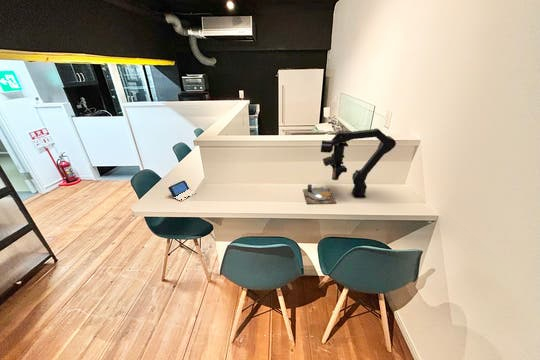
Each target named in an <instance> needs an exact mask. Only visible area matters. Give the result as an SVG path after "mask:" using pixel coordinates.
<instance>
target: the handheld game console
mask: <svg viewBox="0 0 540 360" xmlns="http://www.w3.org/2000/svg"><path fill="white" fill-rule="evenodd" d="M188 189H190V187H189V186H188V183H187V182H186V180H181V181H180V182H177V183H175V184H173V185H170V186H169V187H168V190H169V193H170V194H171V195H172V197H176V196H178V195H179V194H181V193H183V192H185V191H186V190H188ZM184 198H186V197H184ZM181 200H182V199H181Z"/></svg>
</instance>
